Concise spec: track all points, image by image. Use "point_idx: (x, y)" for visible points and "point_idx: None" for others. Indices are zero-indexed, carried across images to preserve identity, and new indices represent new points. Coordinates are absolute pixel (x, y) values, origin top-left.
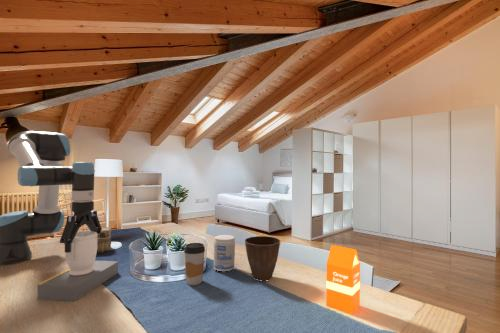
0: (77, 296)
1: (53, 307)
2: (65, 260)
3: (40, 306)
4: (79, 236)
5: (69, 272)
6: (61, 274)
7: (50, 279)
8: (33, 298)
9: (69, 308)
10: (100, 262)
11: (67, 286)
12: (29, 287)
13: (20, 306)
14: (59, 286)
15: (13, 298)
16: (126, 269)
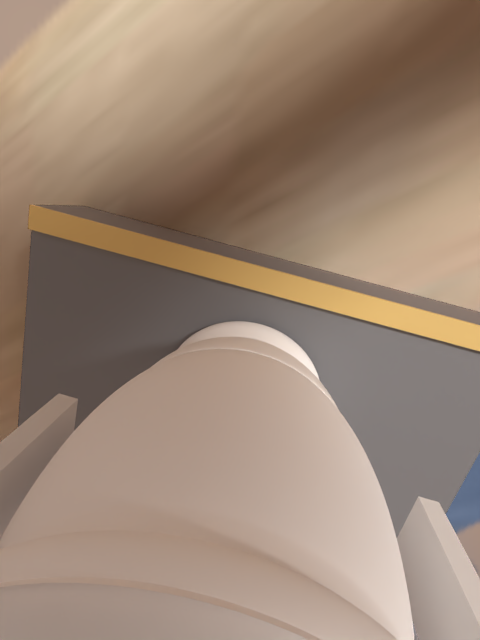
0: None
1: (7, 332)
2: (56, 396)
3: (11, 269)
4: (383, 619)
5: (197, 336)
6: (204, 275)
7: (106, 249)
8: (89, 178)
9: (4, 399)
10: (436, 449)
11: (20, 396)
12: (247, 36)
13: (3, 166)
14: (25, 350)
15: (88, 47)
16: (451, 519)
